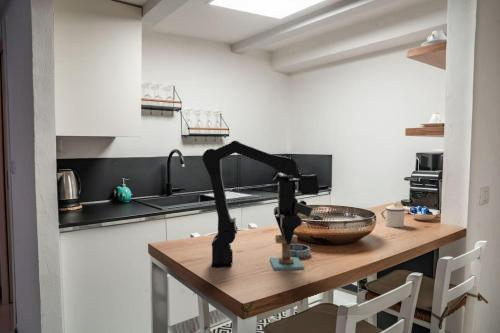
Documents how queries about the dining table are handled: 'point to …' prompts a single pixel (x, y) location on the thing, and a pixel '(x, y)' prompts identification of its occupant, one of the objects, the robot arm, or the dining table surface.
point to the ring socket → (299, 250)
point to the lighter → (316, 217)
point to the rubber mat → (278, 266)
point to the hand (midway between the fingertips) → (286, 240)
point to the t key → (285, 249)
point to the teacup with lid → (394, 215)
